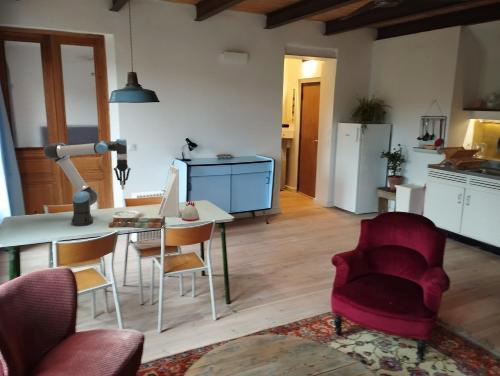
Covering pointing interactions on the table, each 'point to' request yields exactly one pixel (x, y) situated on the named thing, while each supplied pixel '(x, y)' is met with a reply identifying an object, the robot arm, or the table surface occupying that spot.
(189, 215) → the beige rounded dome
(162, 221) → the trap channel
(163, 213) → the white bracket plate
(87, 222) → the robot arm
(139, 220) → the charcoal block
